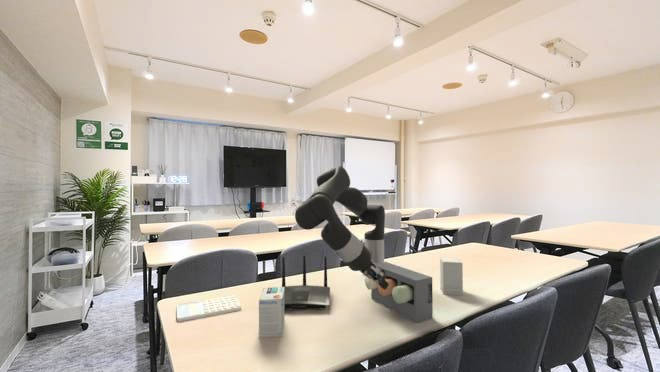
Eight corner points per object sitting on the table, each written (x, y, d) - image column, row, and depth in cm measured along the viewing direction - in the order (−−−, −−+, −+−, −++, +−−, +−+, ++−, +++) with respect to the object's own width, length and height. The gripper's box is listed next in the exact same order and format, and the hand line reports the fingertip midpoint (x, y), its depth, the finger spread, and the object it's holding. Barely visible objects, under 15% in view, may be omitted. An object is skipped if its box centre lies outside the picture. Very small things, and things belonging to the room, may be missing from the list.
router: (267, 312, 102) (267, 268, 102) (278, 291, 122) (278, 255, 122) (329, 312, 102) (329, 268, 102) (330, 291, 122) (329, 255, 122)
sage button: (404, 297, 99) (403, 282, 99) (415, 302, 95) (414, 286, 95) (392, 300, 97) (392, 284, 97) (402, 305, 92) (402, 289, 92)
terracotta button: (389, 290, 106) (388, 276, 106) (398, 295, 101) (398, 280, 101) (377, 293, 103) (377, 278, 103) (387, 298, 99) (386, 282, 99)
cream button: (375, 284, 112) (375, 271, 112) (384, 288, 108) (384, 274, 108) (364, 287, 110) (364, 273, 110) (373, 291, 105) (373, 276, 105)
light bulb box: (263, 321, 95) (263, 287, 95) (285, 320, 95) (284, 286, 96) (258, 338, 84) (258, 299, 84) (282, 337, 85) (282, 298, 85)
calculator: (242, 311, 104) (242, 305, 104) (176, 323, 95) (176, 317, 95) (235, 298, 116) (235, 294, 116) (176, 308, 107) (176, 303, 107)
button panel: (386, 295, 116) (385, 261, 116) (432, 318, 96) (432, 277, 96) (371, 299, 113) (371, 264, 113) (416, 322, 93) (416, 280, 93)
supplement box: (463, 295, 116) (463, 262, 116) (442, 294, 117) (442, 261, 117) (459, 289, 123) (458, 258, 123) (439, 288, 125) (439, 257, 125)
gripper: (332, 256, 91) (366, 290, 97) (356, 266, 79) (393, 304, 85) (346, 237, 93) (379, 271, 99) (372, 244, 82) (407, 282, 87)
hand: (385, 286), depth 92 cm, fingers closed
